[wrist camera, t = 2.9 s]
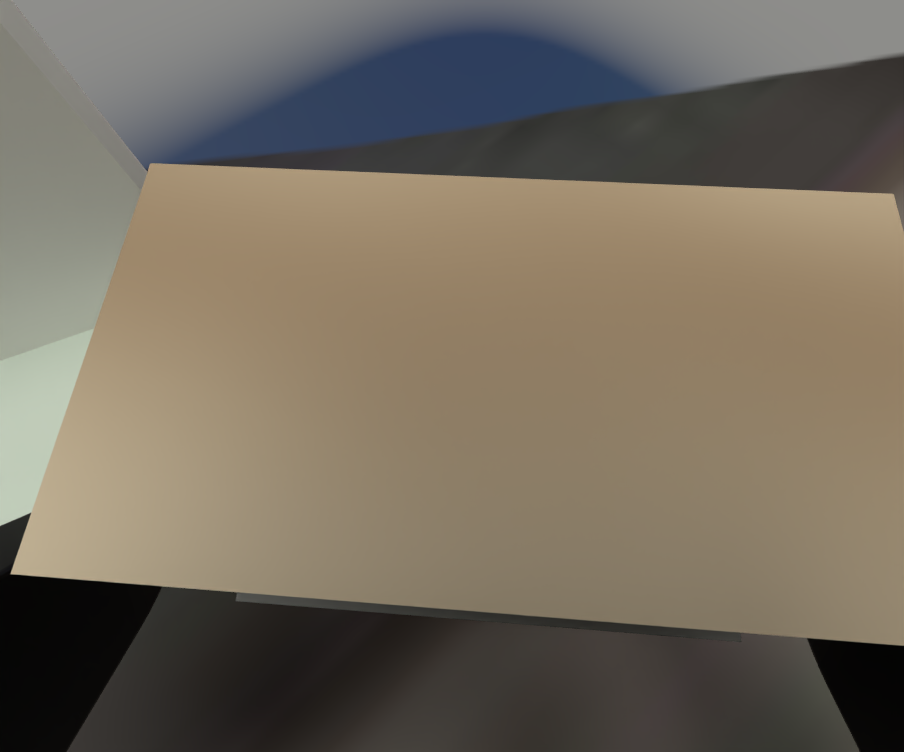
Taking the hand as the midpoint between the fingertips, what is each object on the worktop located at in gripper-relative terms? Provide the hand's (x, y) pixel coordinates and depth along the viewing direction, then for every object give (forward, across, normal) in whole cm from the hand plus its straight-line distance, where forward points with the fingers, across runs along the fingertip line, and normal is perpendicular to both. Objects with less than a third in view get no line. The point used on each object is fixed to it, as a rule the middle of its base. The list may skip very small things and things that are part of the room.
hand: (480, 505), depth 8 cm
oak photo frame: (+6, 0, +5) cm, 8 cm away
